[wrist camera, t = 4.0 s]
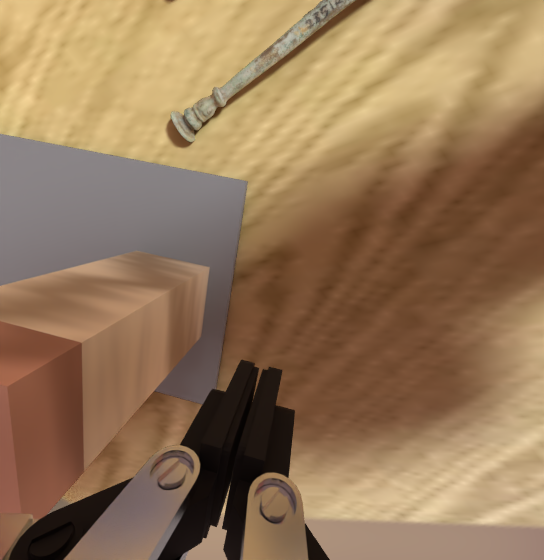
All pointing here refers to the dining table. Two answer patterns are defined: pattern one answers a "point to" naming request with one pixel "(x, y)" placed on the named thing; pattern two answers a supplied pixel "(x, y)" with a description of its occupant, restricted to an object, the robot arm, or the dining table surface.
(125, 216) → the rubber mat
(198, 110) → the soupspoon
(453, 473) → the dining table surface
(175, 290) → the maple block
